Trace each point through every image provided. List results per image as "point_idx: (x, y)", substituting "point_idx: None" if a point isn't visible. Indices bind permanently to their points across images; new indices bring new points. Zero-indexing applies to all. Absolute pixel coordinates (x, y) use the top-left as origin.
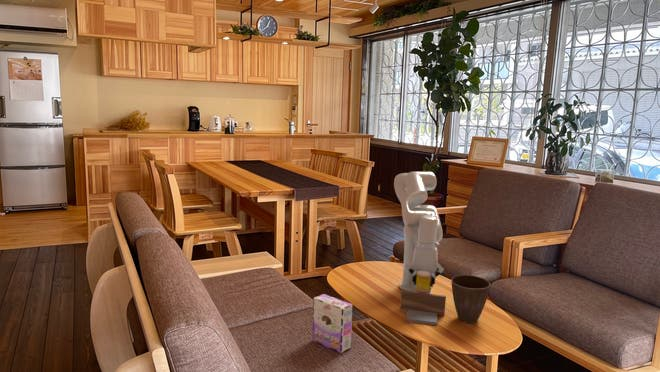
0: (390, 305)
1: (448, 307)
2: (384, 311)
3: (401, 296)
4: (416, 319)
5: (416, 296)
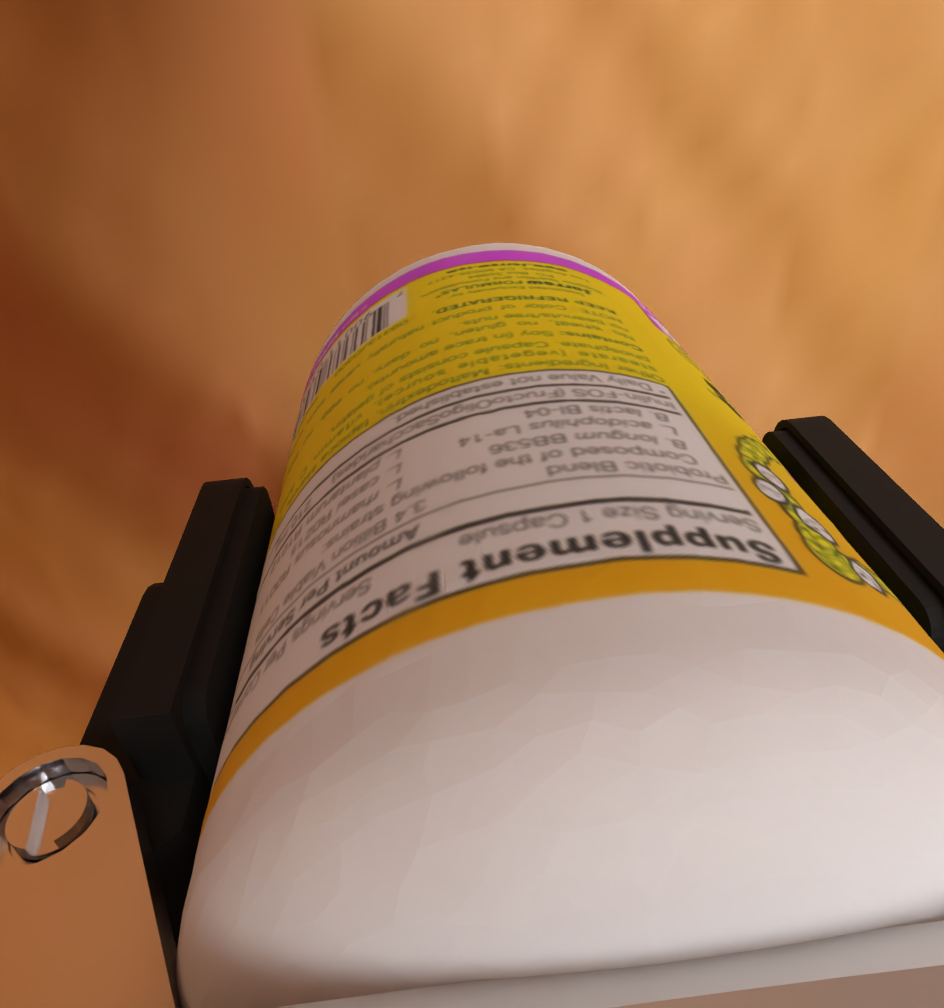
0: (16, 558)
1: (919, 304)
2: (41, 732)
3: None
4: None
5: None
